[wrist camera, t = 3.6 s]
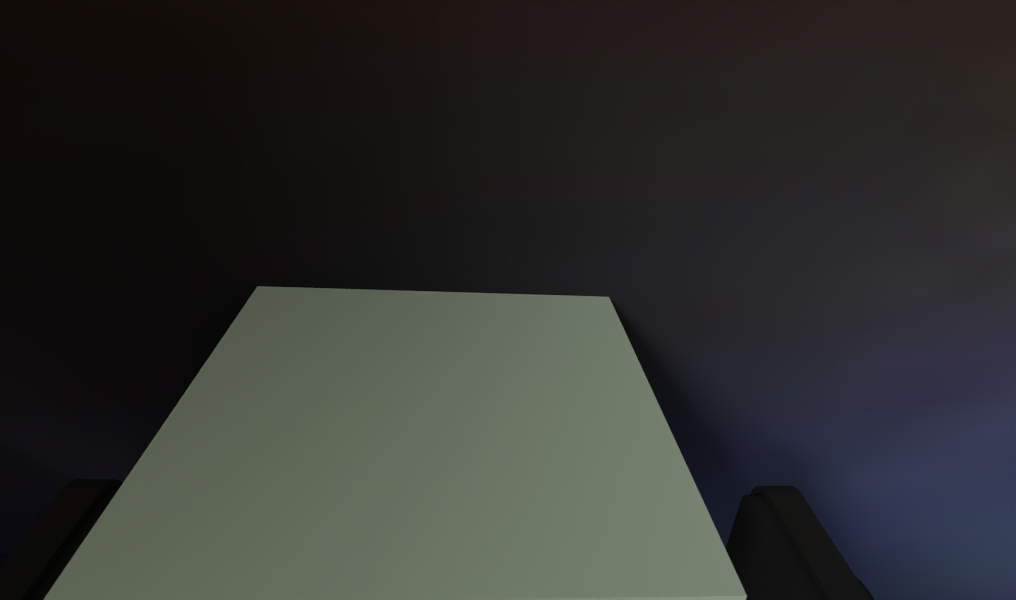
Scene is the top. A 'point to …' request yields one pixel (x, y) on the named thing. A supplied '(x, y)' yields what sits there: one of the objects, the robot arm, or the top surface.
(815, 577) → the robot arm
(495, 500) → the sage cube
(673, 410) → the top surface
